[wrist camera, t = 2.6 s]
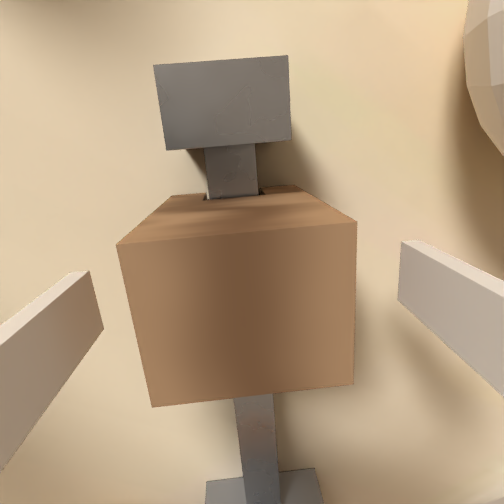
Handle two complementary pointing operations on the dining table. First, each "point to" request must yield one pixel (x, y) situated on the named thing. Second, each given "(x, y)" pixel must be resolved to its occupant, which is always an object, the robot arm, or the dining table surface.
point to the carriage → (242, 295)
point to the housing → (291, 489)
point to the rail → (233, 190)
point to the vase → (486, 65)
